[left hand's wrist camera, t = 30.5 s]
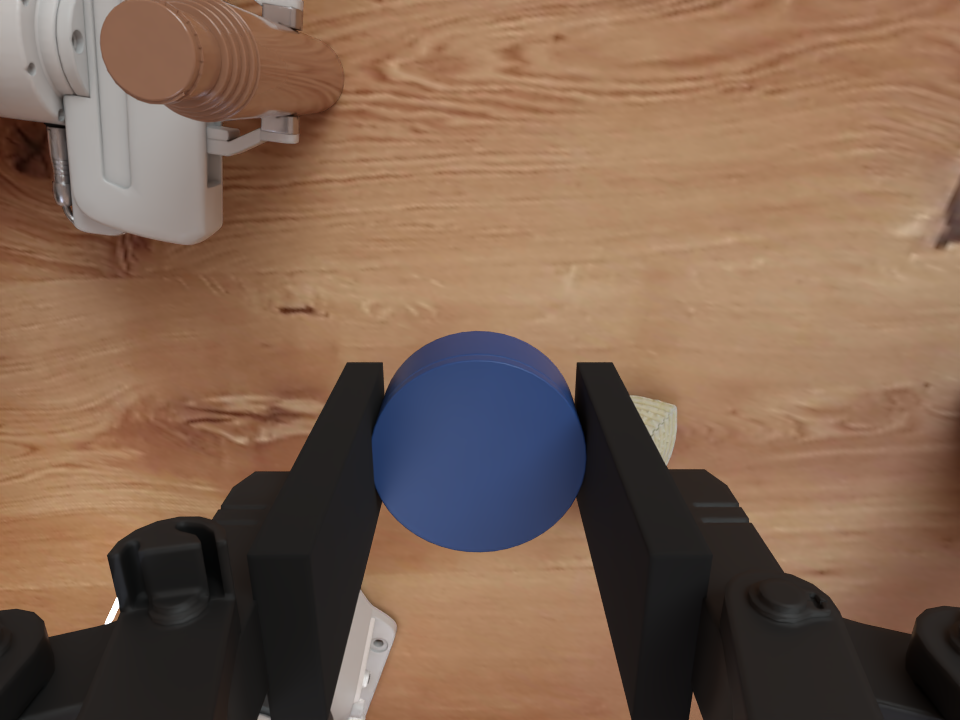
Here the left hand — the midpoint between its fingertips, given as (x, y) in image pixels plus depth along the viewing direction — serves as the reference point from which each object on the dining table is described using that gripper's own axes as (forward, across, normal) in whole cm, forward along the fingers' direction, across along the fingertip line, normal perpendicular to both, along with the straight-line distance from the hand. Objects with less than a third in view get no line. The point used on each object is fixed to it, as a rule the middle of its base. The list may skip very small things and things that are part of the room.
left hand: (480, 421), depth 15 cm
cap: (-2, 0, 0) cm, 2 cm away
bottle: (+33, +11, -8) cm, 36 cm away
